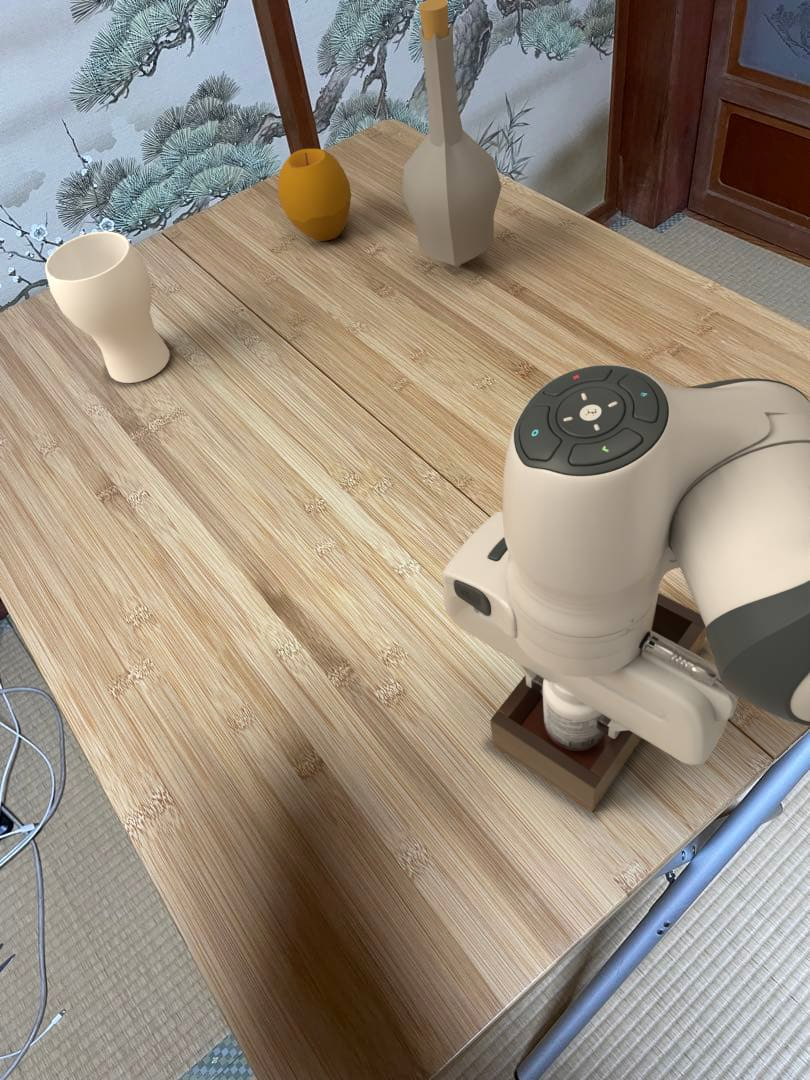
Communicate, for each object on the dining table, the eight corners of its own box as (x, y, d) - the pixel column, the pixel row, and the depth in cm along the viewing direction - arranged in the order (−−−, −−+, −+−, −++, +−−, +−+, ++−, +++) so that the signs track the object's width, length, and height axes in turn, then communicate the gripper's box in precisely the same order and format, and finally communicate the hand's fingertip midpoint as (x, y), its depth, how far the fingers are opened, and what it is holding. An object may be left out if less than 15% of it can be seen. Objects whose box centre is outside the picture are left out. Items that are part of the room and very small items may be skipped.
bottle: (401, 286, 105) (359, 27, 82) (433, 236, 111) (403, -19, 88) (485, 298, 102) (467, 30, 78) (514, 245, 108) (505, -19, 84)
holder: (606, 598, 73) (609, 567, 70) (701, 648, 69) (710, 618, 65) (492, 745, 66) (489, 720, 63) (591, 812, 62) (594, 789, 58)
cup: (106, 403, 99) (47, 297, 87) (90, 354, 105) (33, 249, 94) (190, 371, 101) (143, 262, 89) (170, 324, 107) (123, 217, 95)
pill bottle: (562, 685, 66) (563, 629, 60) (617, 713, 64) (624, 658, 58) (531, 732, 64) (529, 679, 58) (588, 763, 62) (592, 712, 56)
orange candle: (275, 239, 116) (252, 157, 107) (328, 207, 119) (310, 125, 110) (319, 263, 111) (298, 180, 102) (373, 229, 114) (357, 145, 105)
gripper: (768, 648, 47) (727, 749, 58) (478, 500, 57) (489, 610, 68) (716, 731, 45) (683, 821, 56) (421, 562, 55) (442, 666, 65)
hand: (574, 704), depth 62 cm, fingers closed on pill bottle, 5 cm apart
